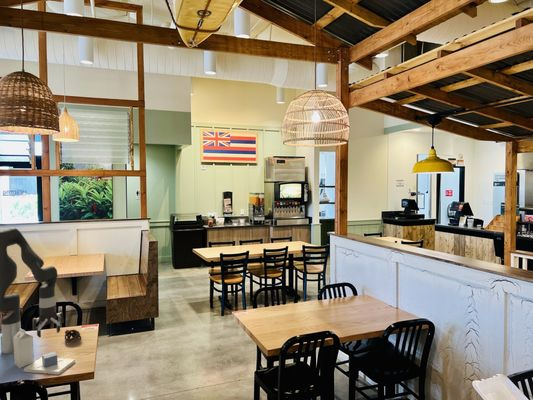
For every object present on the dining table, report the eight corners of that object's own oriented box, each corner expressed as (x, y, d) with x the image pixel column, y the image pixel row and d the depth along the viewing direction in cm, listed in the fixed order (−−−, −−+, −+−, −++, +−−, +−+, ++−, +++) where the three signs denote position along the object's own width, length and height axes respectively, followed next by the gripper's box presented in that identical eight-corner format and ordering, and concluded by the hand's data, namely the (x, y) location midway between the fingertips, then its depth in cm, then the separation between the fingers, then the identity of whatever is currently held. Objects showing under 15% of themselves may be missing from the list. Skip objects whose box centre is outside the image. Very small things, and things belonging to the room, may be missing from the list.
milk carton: (29, 359, 212) (27, 325, 211) (34, 363, 207) (32, 329, 206) (14, 364, 206) (12, 329, 205) (19, 368, 202) (17, 333, 201)
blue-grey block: (44, 367, 199) (44, 358, 199) (42, 363, 204) (41, 354, 203) (57, 364, 203) (57, 354, 203) (54, 359, 208) (54, 350, 207)
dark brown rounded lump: (85, 339, 238) (82, 331, 233) (73, 351, 231) (69, 343, 226) (72, 331, 242) (69, 323, 237) (59, 343, 235) (55, 334, 230)
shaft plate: (24, 371, 199) (23, 362, 198) (42, 359, 211) (41, 351, 211) (58, 374, 196) (58, 365, 195) (75, 362, 208) (74, 353, 208)
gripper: (33, 310, 194) (35, 340, 195) (64, 303, 203) (65, 333, 204) (30, 306, 199) (32, 336, 200) (60, 299, 209) (61, 328, 210)
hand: (48, 334), depth 202 cm, fingers open, 8 cm apart
